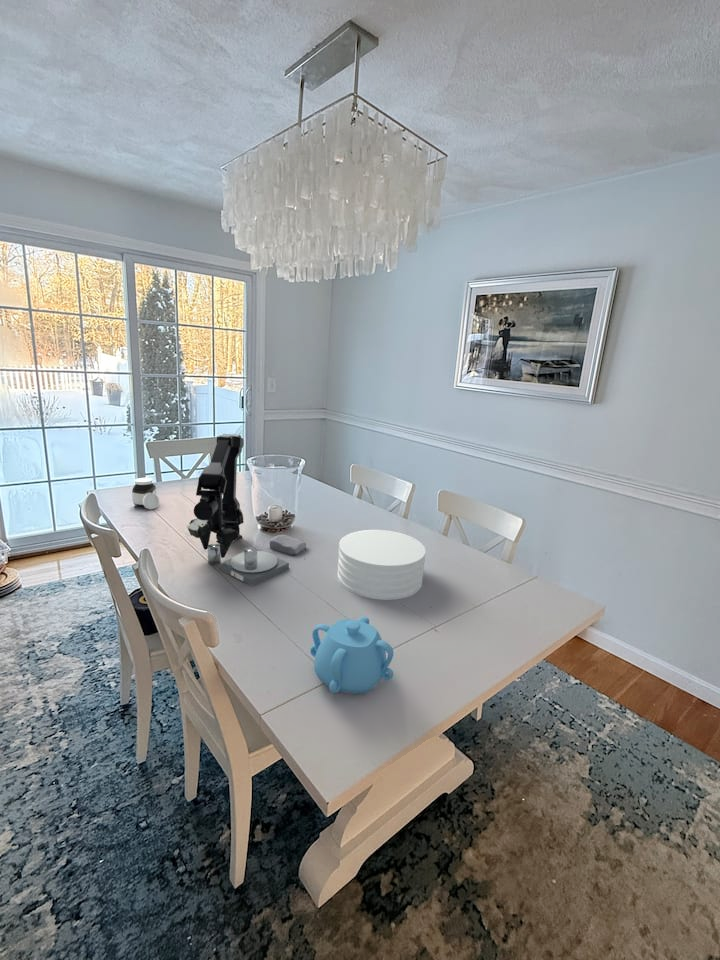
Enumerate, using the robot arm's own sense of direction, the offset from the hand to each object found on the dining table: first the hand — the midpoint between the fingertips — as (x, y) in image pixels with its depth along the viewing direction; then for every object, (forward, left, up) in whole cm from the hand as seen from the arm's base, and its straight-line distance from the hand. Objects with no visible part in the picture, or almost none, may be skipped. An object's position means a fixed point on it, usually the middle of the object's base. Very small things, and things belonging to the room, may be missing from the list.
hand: (214, 553), depth 150 cm
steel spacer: (0, 0, -3) cm, 3 cm away
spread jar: (-66, +14, -4) cm, 67 cm away
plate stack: (+47, +30, -4) cm, 56 cm away
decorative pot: (+68, -14, -4) cm, 70 cm away
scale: (+13, +6, -3) cm, 15 cm away
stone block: (+9, +26, -4) cm, 28 cm away
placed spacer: (+16, +2, 0) cm, 16 cm away
